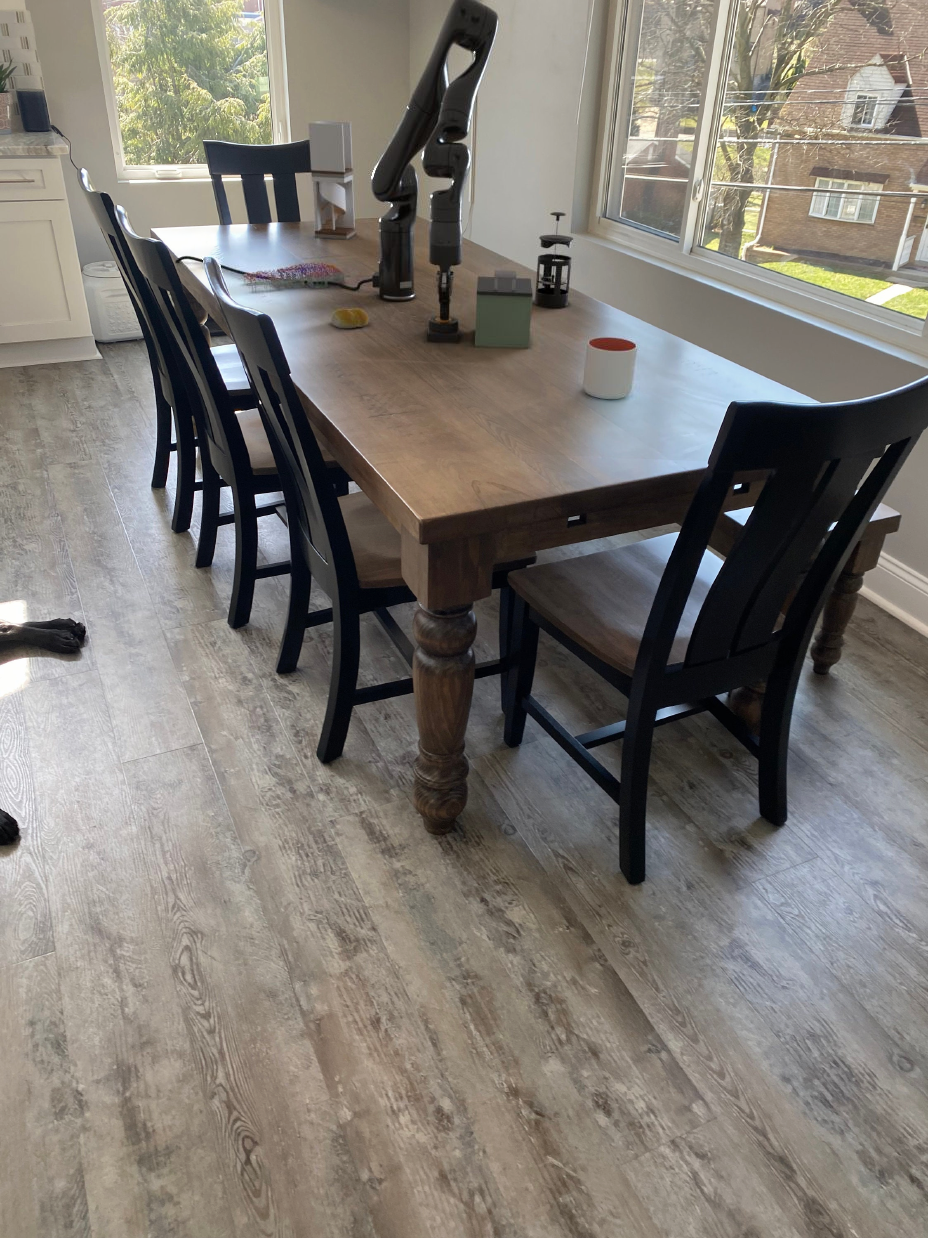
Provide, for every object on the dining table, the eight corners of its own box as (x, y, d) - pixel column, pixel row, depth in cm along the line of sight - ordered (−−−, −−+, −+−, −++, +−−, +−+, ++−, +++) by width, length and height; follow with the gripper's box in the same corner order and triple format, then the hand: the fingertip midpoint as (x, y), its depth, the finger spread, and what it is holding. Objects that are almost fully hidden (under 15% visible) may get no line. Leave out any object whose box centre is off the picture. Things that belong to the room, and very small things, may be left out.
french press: (573, 308, 239) (582, 215, 227) (539, 309, 238) (546, 215, 225) (560, 297, 249) (568, 208, 236) (528, 298, 247) (534, 208, 235)
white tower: (315, 237, 311) (308, 122, 291) (324, 231, 319) (318, 120, 300) (346, 239, 309) (342, 124, 290) (354, 233, 318) (350, 121, 299)
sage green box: (528, 348, 208) (532, 295, 201) (474, 346, 208) (476, 293, 201) (527, 331, 219) (530, 282, 212) (475, 329, 219) (477, 279, 213)
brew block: (457, 343, 209) (457, 325, 207) (427, 341, 209) (427, 324, 207) (458, 331, 218) (459, 314, 215) (430, 330, 218) (430, 313, 216)
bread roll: (374, 326, 219) (374, 309, 217) (341, 330, 215) (341, 313, 213) (358, 318, 225) (358, 301, 223) (326, 322, 221) (325, 305, 218)
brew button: (451, 329, 211) (451, 321, 210) (434, 328, 211) (434, 320, 210) (452, 324, 214) (452, 317, 213) (435, 323, 214) (435, 316, 213)
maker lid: (532, 296, 200) (534, 273, 198) (476, 294, 201) (477, 271, 198) (530, 281, 212) (532, 259, 210) (477, 279, 213) (478, 257, 210)
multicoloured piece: (249, 294, 241) (247, 274, 238) (236, 281, 253) (234, 262, 250) (354, 286, 252) (353, 267, 249) (337, 275, 264) (337, 256, 261)
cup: (577, 384, 187) (582, 336, 181) (624, 384, 188) (630, 337, 182) (587, 401, 178) (592, 351, 173) (636, 401, 179) (643, 351, 174)
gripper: (461, 247, 196) (459, 327, 206) (463, 236, 207) (461, 312, 217) (427, 246, 196) (427, 326, 206) (431, 235, 207) (430, 311, 217)
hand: (444, 318), depth 211 cm, fingers closed
